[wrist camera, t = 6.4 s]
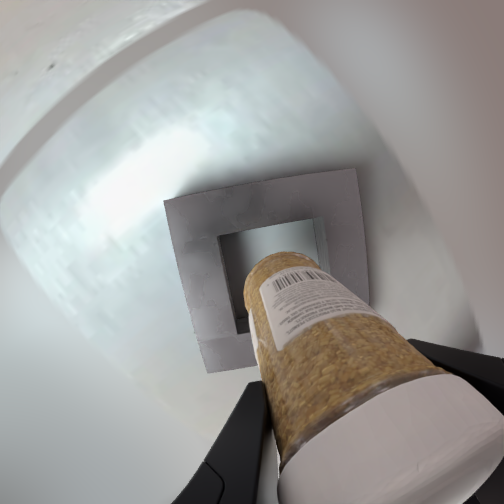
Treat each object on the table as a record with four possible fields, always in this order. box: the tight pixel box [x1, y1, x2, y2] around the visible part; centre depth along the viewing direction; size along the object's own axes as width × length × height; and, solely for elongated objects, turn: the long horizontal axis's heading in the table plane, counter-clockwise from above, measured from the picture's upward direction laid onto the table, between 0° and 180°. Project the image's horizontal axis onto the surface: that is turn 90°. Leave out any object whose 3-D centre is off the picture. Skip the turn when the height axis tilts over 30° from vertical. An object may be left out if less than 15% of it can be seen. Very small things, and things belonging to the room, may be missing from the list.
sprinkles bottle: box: [244, 252, 504, 504], centre depth 9 cm, size 5×5×13 cm
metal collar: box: [164, 168, 369, 373], centre depth 19 cm, size 12×12×2 cm
